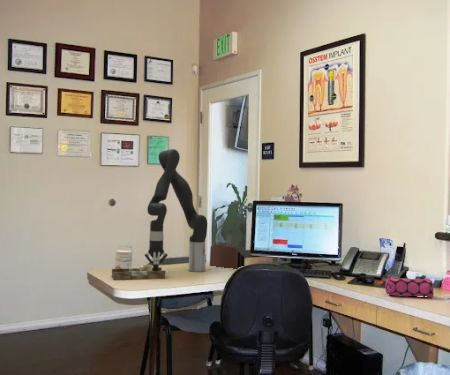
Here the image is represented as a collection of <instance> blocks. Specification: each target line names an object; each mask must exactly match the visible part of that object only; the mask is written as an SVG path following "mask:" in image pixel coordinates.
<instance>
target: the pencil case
mask: <svg viewBox="0 0 450 375" xmlns="http://www.w3.org/2000/svg"><path fill="white" fill-rule="evenodd" d="M384 290H385V293H386V294H387V293H388V294H389V295H401V296H404V297H408V296H423V297H425V296H427V297H429V298H430V297H432V298H434V293H435V292H434V283H433V280H431V279H430V278H428V277H427V278H423V279H422V278H421V279H419V278H405V277H404V278H401V277H396V276H393V275H392V276H391V275H390V274H388V276H387V278H386V280H385V286H384ZM389 295H388V296H389Z"/></svg>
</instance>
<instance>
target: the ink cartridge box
mask: <svg viewBox="0 0 450 375" xmlns="http://www.w3.org/2000/svg"><path fill="white" fill-rule="evenodd" d="M132 262H133V246H132V245H129V244H128V245H127V244H125V245H124V244H123V245H122V244H119V245H118V250H116V251H115V262H114V263H115V267H114V269H120V268H133V266H132V265H133V263H132Z"/></svg>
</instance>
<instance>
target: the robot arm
mask: <svg viewBox="0 0 450 375" xmlns="http://www.w3.org/2000/svg"><path fill="white" fill-rule="evenodd" d="M180 158H181V156H180V153H179V151H178V150H177V149H174V148H173V149H171V148H170V149H167V150H166V149H165V150H162V151H160V152H159V154H158V162H159V164H160V166H161V167H162V169H163V173H162V175H161V176H160V178H159V180H157V183H156V186H155V190H154V194H153V196H152V197H151V199H150V201H149V202H148V206H147V214H148V215H149V216H152V217H154V216H155V217H157V218H156V219H153V220H151V221H150V226H149V241H148V242H149V246H148V251H147V253H144V257H145V258H146V259H147V261H148V262H149V263H150V264H151V265H152V268H153V270H154V271H157V270H158V269H159V265H160V264H162V263H163V262H164V261H165V259H166V258H167V257H168V256H169V254H168V253H166V252H165V250H164V222H165V218H166V215H167V213H168V212H167V211H168V209H167V205H166V204H165V203H164V202H163V201H166V200H167V197H168V194H169V189H170V186H171V187H172V189H173V191H174V194H175V196H176V198H177V200H178V203H179V204H180V207H181V209H182V211H183V214H184V217H185V220H186V223H187V225H188V227H189V228H190V229H191V230H192V231H193V232H192V235H190V236H189V245H188V246H189V249H188V252H189V253H188V271H189V272H195V273H196V272H198V273H199V272H206V259H207V258H206V254H205V253H206V252H205V251H206V238H207V236H208V220H207V218H206V216H205V215H203V214H198V213H197V211H196V209H195V206H194V202H193V201H194V198H193V192H192V188H191V186H190V184H189V183H188V181H187V180H186V179H185V178H184V177H183V176H182V175H181V174H179V172H178V171H177V167H178V165H179V163H180ZM150 257H151V258H152V259H151V258H150Z"/></svg>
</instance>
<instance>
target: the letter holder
mask: <svg viewBox="0 0 450 375" xmlns="http://www.w3.org/2000/svg"><path fill="white" fill-rule="evenodd" d="M209 251H210V254H209V267H210V266H216V267H215V268H218V267H224V268H223V269H226V268H233V269H232V270H234V269H238V268H239V267H241V266H244V267H245V264H246V263H245V260H246V258H245V256H244V254H242V252H240V251H239V249H238V248H237V247H234V246H230V245H224V244H222V245H221V244H220V245H211V246H210V250H209ZM238 270H239V269H238Z"/></svg>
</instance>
